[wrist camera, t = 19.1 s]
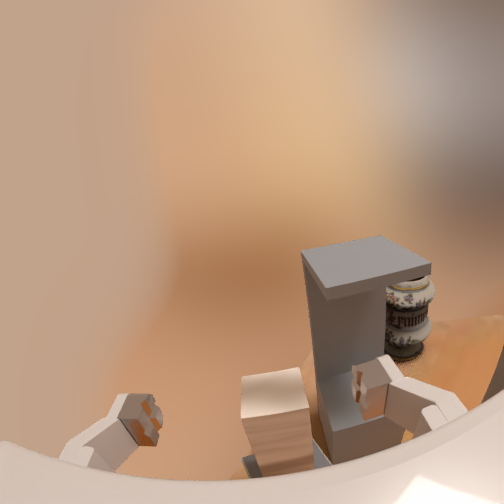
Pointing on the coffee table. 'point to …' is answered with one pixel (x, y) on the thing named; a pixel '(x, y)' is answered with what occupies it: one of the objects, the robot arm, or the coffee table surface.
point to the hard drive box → (496, 379)
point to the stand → (255, 471)
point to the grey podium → (352, 334)
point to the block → (278, 422)
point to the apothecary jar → (407, 318)
